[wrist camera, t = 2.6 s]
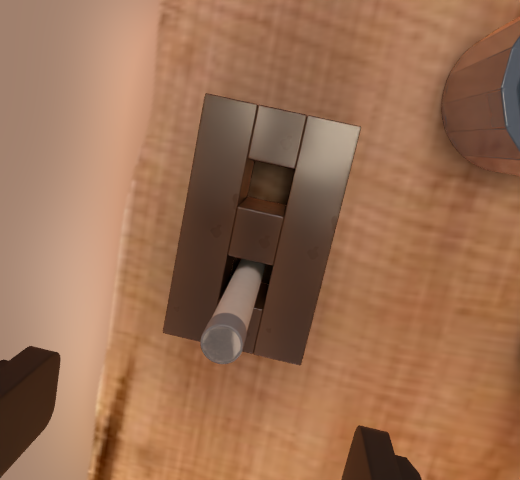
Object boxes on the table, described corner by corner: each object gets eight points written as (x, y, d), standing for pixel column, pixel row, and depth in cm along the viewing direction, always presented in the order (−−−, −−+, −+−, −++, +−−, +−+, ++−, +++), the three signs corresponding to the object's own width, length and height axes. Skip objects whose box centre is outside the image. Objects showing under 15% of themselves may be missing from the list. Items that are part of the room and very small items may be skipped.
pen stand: (182, 304, 29) (162, 333, 25) (220, 101, 27) (204, 93, 22) (300, 332, 29) (300, 365, 25) (351, 129, 26) (361, 126, 22)
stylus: (238, 270, 29) (196, 359, 17) (244, 246, 28) (204, 319, 17) (263, 276, 29) (238, 369, 17) (269, 251, 28) (247, 329, 17)
